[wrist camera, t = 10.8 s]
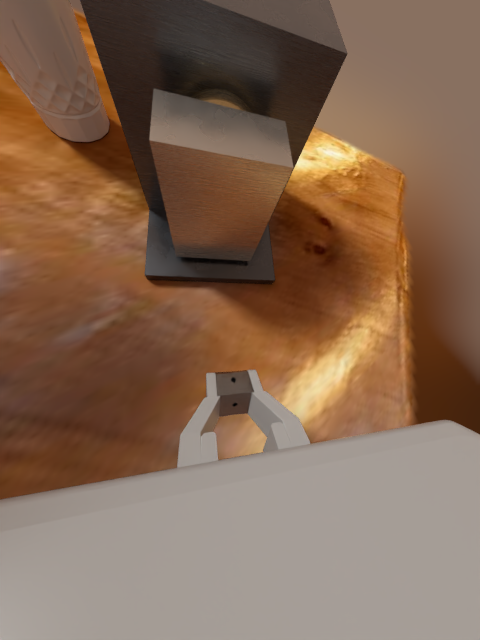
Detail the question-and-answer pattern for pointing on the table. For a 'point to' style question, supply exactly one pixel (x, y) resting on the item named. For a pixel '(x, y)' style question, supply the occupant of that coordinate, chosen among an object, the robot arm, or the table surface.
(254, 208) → the shaft
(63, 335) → the table surface
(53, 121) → the white cup
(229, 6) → the bearing block
